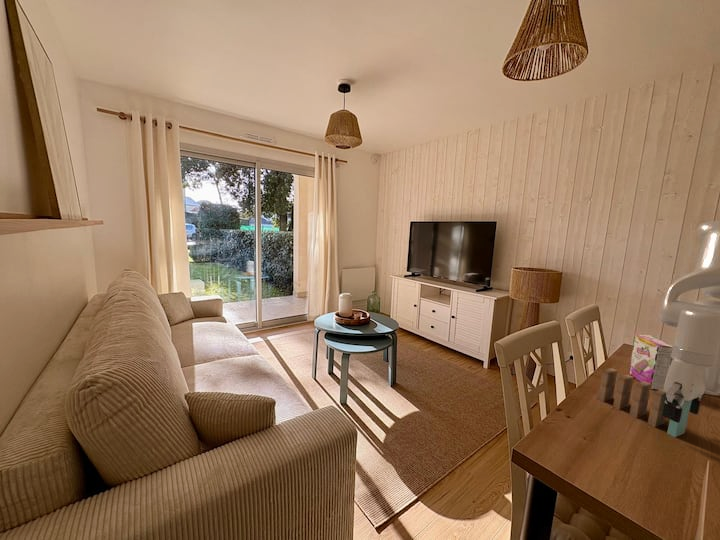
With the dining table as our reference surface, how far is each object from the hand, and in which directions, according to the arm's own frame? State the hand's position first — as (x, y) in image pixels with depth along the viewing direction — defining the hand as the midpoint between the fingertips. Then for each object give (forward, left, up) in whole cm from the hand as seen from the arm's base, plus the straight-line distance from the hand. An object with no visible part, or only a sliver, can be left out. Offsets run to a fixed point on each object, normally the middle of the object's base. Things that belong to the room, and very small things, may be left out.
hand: (680, 415), depth 78 cm
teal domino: (0, 0, -6) cm, 5 cm away
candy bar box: (-27, -18, -6) cm, 33 cm away
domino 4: (0, -4, -6) cm, 7 cm away
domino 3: (0, -8, -6) cm, 10 cm away
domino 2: (0, -13, -6) cm, 14 cm away
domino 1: (0, -17, -5) cm, 18 cm away
